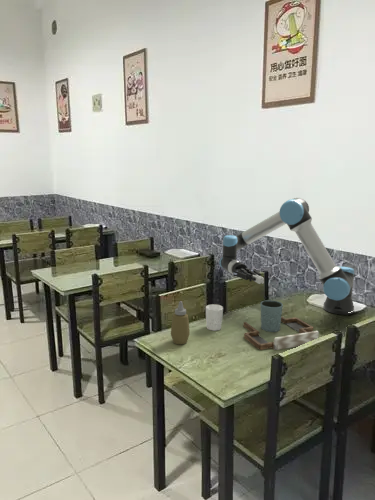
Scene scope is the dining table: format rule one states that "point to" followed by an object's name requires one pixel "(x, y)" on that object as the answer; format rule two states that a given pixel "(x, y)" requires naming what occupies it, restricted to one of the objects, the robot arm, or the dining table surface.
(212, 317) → the white cup
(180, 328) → the squeeze bottle
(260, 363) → the dining table surface
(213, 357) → the dining table surface
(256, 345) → the brown walled tray frame
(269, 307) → the blue-grey cup
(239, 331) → the dining table surface
